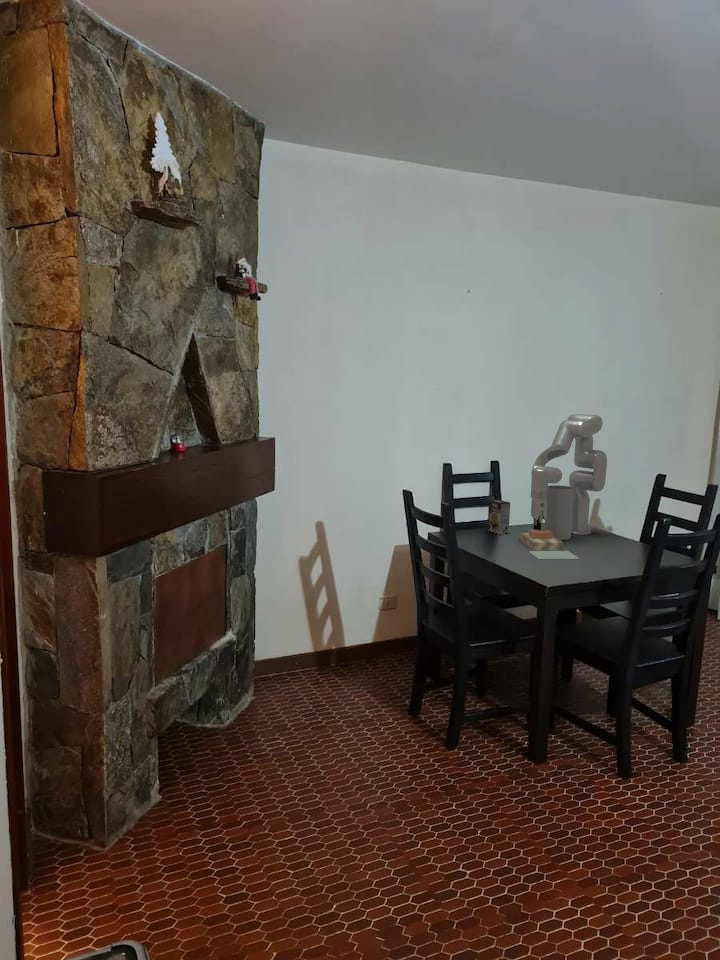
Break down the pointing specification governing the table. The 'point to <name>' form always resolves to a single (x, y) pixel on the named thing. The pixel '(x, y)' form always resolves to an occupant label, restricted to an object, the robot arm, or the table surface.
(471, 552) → the table surface
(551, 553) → the mat
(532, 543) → the board
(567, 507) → the cylinder vase
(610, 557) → the table surface
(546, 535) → the thick terracotta block
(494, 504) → the coffee box
